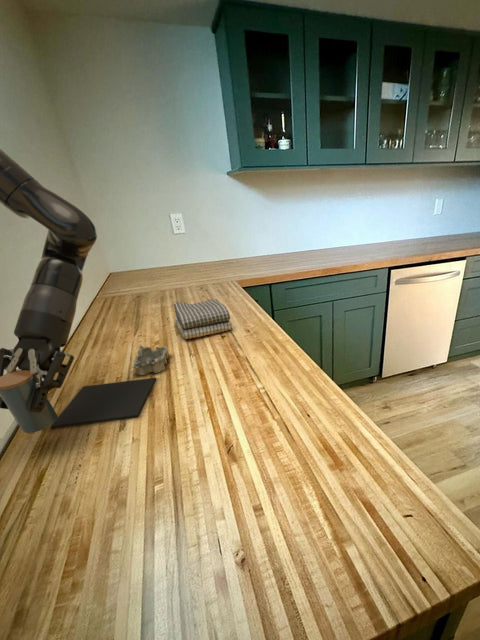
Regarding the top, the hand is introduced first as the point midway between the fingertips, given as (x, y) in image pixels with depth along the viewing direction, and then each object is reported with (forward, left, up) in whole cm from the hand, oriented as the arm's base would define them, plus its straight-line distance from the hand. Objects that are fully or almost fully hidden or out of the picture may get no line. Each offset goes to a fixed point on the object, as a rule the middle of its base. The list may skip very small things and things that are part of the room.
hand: (19, 409), depth 56 cm
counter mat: (+6, +15, -10) cm, 19 cm away
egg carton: (+12, +31, -10) cm, 34 cm away
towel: (+22, +54, -10) cm, 59 cm away
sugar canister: (+1, +2, -4) cm, 5 cm away
